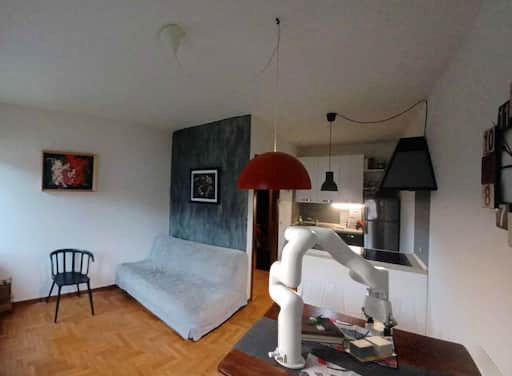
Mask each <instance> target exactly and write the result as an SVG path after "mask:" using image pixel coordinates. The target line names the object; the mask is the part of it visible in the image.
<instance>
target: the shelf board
mask: <svg viewBox="0 0 512 376" xmlns="http://www.w3.org/2000/svg"><path fill="white" fill-rule="evenodd" d="M344 351H346V352H347V353H348V354H349V355H351V356H353V357H355V358H356V359H357V360H359V361H361V362H362V363H365V362H370V361H374V360H375V361H376V360H380V359H384V358H390V357H394V356H397V354H396V353H395V352H393V354H389V355H384V356H378V355H376V354H374V356H371V357H365V358H358V357H357V356H355V355H354V354H352V353H351V352H350V348H346V349H344Z"/></svg>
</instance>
